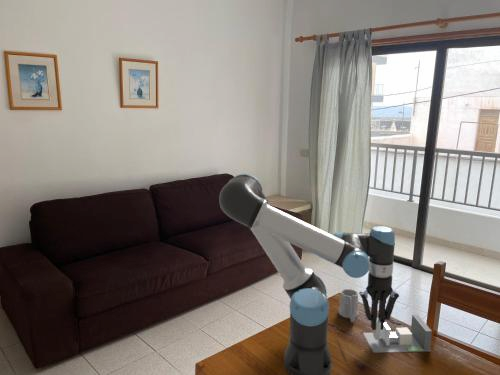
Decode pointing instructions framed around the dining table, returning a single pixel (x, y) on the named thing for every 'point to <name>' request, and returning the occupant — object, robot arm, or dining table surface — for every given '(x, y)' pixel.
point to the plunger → (388, 335)
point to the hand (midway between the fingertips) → (376, 337)
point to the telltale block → (404, 336)
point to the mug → (349, 304)
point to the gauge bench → (419, 343)
